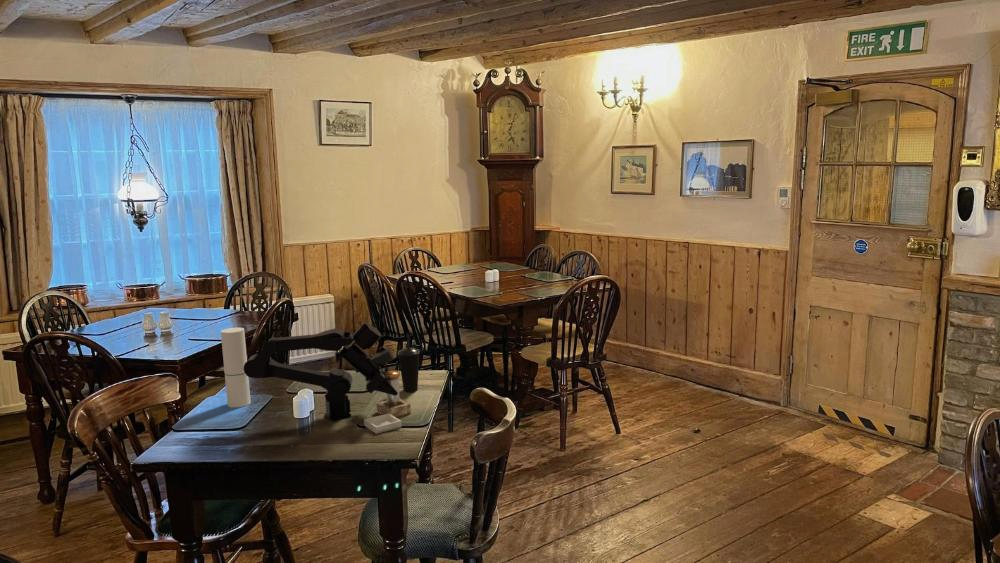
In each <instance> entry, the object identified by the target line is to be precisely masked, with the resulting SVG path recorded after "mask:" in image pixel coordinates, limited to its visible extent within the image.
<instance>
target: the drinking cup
mask: <svg viewBox="0 0 1000 563" xmlns="http://www.w3.org/2000/svg"><path fill="white" fill-rule="evenodd" d="M406 337H407V341H406V342H407V347H404V348H401V350H398V351H397V355H398V359H399V367H400V377H401V381H402V389H403V391H404V393H412V392H416V391H417V392H418V390H419V388H418V387H419V386H418V385H419V368H420V353H421V350H420V349H417V348H415V347H410V333H408V332H407V333H406Z"/></svg>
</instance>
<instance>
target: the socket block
mask: <svg viewBox="0 0 1000 563" xmlns="http://www.w3.org/2000/svg"><path fill="white" fill-rule="evenodd" d="M411 410H412V409H411V403H410V402H407V401H405V400H404V399H402V398H400V405H399V406H395V407H391V408H389V407H387V400H383V401H379V402H376V412H377V411H378V412H379V413H381V414H382V415H384V414H388V413H389V414H391V415H392V416H394V417H396V416H398V417H401V416H400V415H402V416H404V415H403V414H406V415H408V414H407V413H410V414H412V411H411ZM378 412H377V413H378ZM379 413H378V414H379ZM381 414H380V415H381ZM396 418H397V417H396Z"/></svg>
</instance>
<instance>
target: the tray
mask: <svg viewBox="0 0 1000 563" xmlns="http://www.w3.org/2000/svg"><path fill="white" fill-rule="evenodd" d="M363 426H364V427H365V428H367V429H369V430H370V431H372V432H373V433H375V434H376V435H379V434H381V433H386V432H389V431H393V430H396V429H401V428H402V427H403V426H402V420H401V419H400V418H398V417H394V416H392V415H391V414H389V413H388V414H384V415H381V414H379V415H375V416H372V417H368V418H365V419H363Z"/></svg>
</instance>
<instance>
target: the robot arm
mask: <svg viewBox="0 0 1000 563" xmlns="http://www.w3.org/2000/svg"><path fill="white" fill-rule="evenodd" d="M381 338H382V334H381V332H380V330H378V329H377V327H375V326H372V325H371V324H368V322H366V321H364V322H363V323H362V324H361V325H360V327H359V328H358V330H356V331H355V332H352V331H343V330H342V329H341V328H337V327H335V328H332V329H328V330H327V329H326V330H324V331H321V332H319V333H315V334H305V335H295V336H292V335H291V336H281V337H280V336H279V337H276V336H273V337H271V338H269V339H268V341H266V343H265V345H264V346H263V347H262V349H261V350H260V351H259V352H258V353H255V354H253V355H251V356H250V357H249V358H248V359H247V362H246V363H245V365H244V372H245V374H246V375H247V376H248V378H250V379H270V378H276V379H283V380H287V381H291V382H297V383H303V384H307V385H312V386H317V387H321V388H322V389H324V390H326V392H325V395H324V397H325V398H324V399H325V401H324V402H325V413H324V414H323V415H324V416H325V417H327V419H329V420H330V421H332V422H333V421H338V420H341V419H344V418H349V417H352V414H351V400H350V399H349V395H348V393H349V392H350V391H351V388H352V386H353V385H352V384H353V382H354V381H353V377H352V375H351V374H350V372H348V371H345V370H346V369H345V368H343V369H341V368H337V367H332V366H331V368H330V371H320V370H315V369H310V368H305V367H301V366H296V365H291V364H290V365H289V364H285V363H280V362H278V361H276V360H275V359H273V358H272V356H274V355H275V353H277V352H279V353H280V352H288V351H289V352H291V351H299V350H300V351H301V350H311V349H316V350H317V349H318V350H322V351H329V352H335V353H334V355H335V363H338V362H340V360H341V359H343V360H344V361H345V362H346V363H347V364H349V365H350V366H351V367H352V368H353V369H354V372H355V373H356V374H358V373H359V374H360V375H362V376H363V377H364V378H365V381H366V385H365V386H366V387H365V388H366V391H367V392H369V393H370V394H372V393H373V392H375V391H376V392H379V393H384V394H386V393H387V394H391V395H394V396H396V395H397V394H398V392H397V391H396V390H395V389H394V387H393V386H392V385H391V384H390V383H389V382H388V380H387V374H386V375H384V372H386V371H389V366H387V365H388V363H390V362H392V361H394V358H395V357H394V355H393V353H392V349H390V347H386V346H384V345H382V346H380V347H379V349H378V352H377V353H376V354H372V353H366V352H365V350H371V349H372V348H373V346H374V345H375V344H376V343H377V342H378V341H379V340H380V339H381ZM385 366H387V367H386V368H384V367H385Z"/></svg>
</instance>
